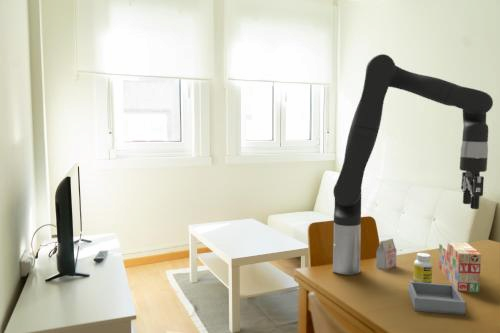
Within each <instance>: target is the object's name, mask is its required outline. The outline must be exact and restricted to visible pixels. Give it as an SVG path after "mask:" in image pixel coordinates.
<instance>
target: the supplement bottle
mask: <svg viewBox="0 0 500 333" xmlns="http://www.w3.org/2000/svg"><path fill="white" fill-rule="evenodd" d="M432 279H433V262H432V261H431V254H429V253H427V252H418V253H416V259H415V260H414V262H413V279H412V280H413V281H412V282H423V283H433V282H432V281H433V280H432Z"/></svg>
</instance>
